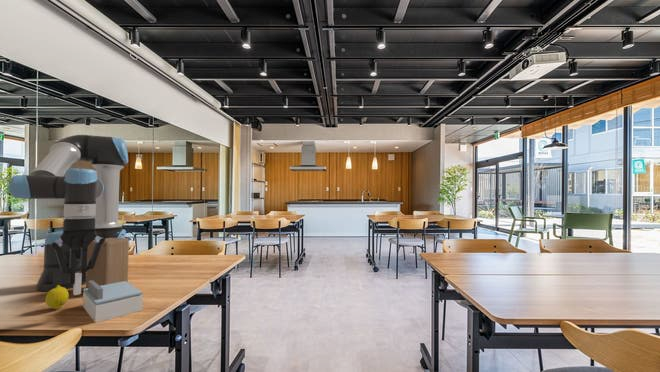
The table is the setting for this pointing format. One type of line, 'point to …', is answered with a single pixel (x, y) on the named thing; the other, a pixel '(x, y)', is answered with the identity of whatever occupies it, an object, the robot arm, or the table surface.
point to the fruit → (57, 297)
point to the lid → (110, 291)
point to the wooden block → (109, 262)
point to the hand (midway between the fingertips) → (77, 293)
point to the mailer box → (112, 307)
